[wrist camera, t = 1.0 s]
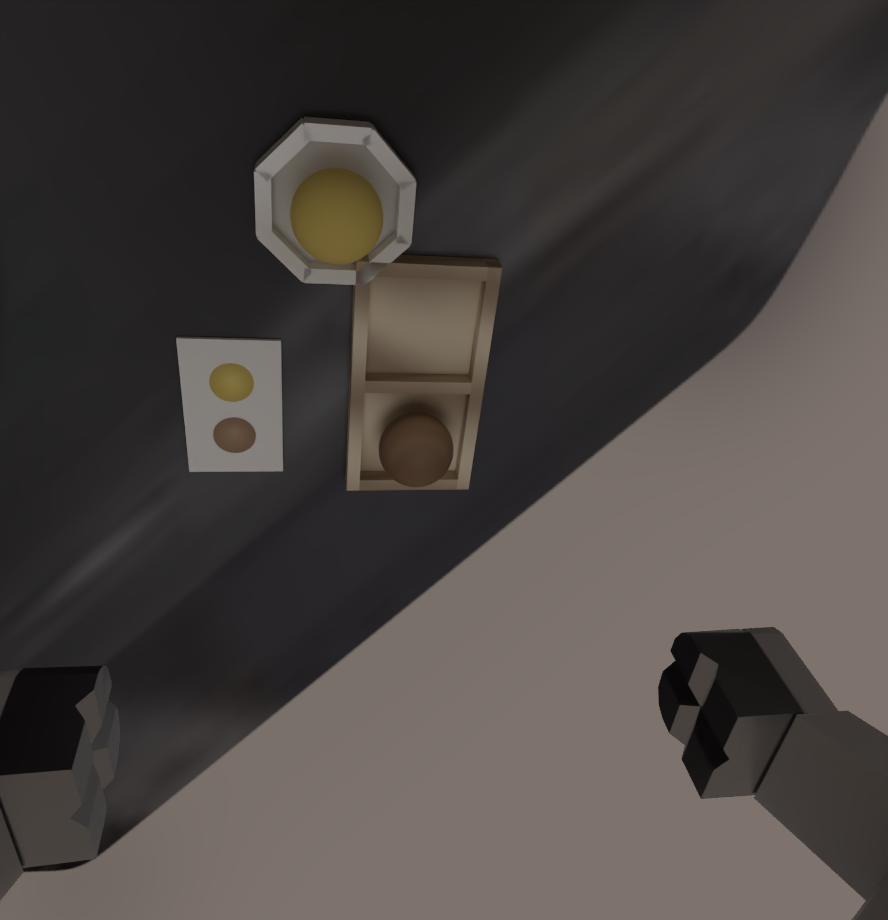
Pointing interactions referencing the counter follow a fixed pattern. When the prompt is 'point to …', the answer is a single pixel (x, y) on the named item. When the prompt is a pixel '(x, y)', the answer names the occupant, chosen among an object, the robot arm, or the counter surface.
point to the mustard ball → (336, 216)
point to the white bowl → (319, 149)
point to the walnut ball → (416, 449)
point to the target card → (232, 403)
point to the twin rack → (419, 358)
